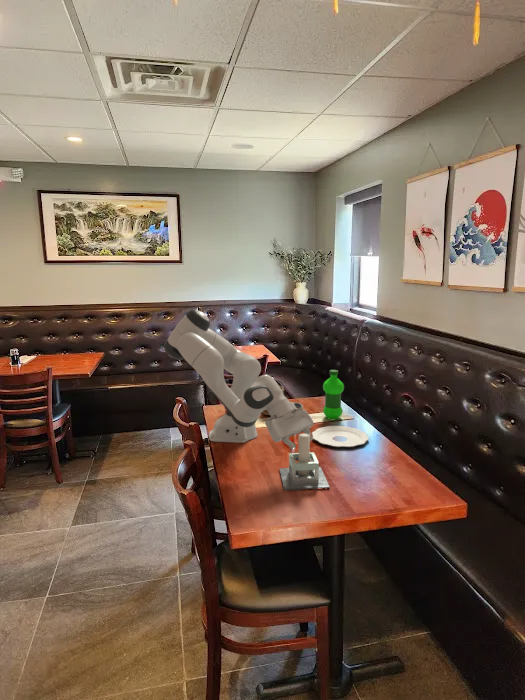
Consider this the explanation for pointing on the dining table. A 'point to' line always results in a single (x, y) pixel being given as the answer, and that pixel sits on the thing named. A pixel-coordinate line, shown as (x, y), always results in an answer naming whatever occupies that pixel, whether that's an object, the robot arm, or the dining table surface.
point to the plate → (352, 435)
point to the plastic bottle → (333, 396)
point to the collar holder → (308, 482)
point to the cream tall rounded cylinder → (303, 452)
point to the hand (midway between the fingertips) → (302, 444)
